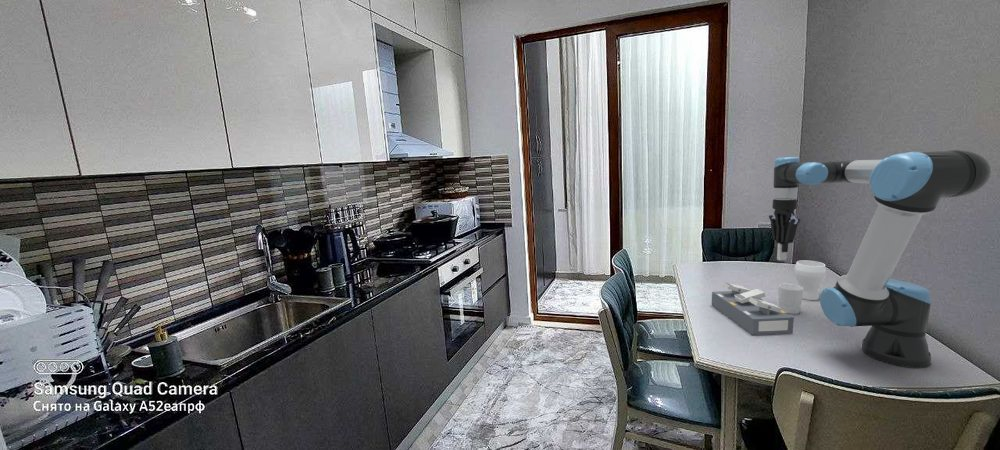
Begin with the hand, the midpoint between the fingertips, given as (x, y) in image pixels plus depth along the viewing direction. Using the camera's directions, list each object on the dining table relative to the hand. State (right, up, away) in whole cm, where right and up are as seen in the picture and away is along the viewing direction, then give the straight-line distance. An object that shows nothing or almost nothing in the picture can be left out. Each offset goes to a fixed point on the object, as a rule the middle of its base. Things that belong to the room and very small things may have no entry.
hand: (781, 259), depth 153 cm
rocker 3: (-13, -15, -10) cm, 23 cm away
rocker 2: (-13, -14, -1) cm, 19 cm away
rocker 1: (-13, -12, +8) cm, 19 cm away
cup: (+24, -18, +17) cm, 34 cm away
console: (-13, -23, +1) cm, 26 cm away
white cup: (+6, -21, +5) cm, 23 cm away
